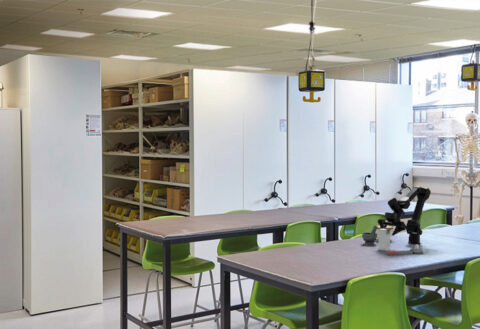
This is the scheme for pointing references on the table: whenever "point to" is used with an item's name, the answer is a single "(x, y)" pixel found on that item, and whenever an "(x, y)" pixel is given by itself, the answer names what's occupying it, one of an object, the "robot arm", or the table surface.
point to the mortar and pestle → (370, 236)
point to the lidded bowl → (386, 228)
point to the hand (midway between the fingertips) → (386, 234)
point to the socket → (384, 239)
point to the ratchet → (406, 251)
